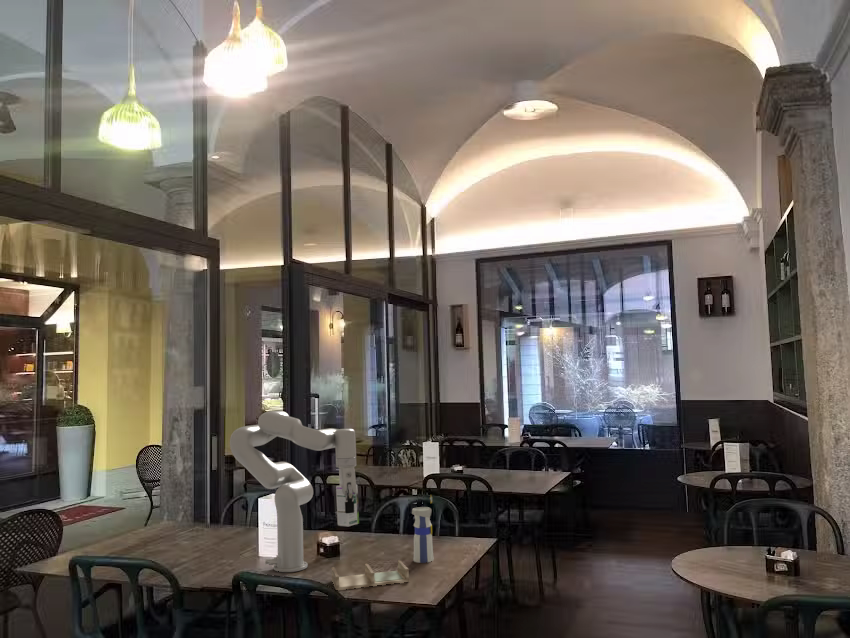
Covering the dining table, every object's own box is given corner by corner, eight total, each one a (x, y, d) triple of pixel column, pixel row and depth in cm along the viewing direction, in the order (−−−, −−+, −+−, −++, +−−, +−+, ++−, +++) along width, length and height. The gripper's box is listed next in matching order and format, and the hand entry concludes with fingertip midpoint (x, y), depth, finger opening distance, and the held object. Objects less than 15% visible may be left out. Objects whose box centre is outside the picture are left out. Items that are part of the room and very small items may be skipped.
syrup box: (348, 526, 243) (347, 486, 244) (336, 525, 247) (335, 485, 248) (359, 523, 248) (358, 483, 249) (347, 522, 251) (346, 482, 252)
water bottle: (434, 556, 264) (432, 491, 266) (435, 562, 256) (433, 495, 258) (413, 557, 264) (411, 492, 266) (413, 563, 255) (411, 496, 257)
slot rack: (336, 590, 225) (336, 576, 225) (331, 580, 236) (331, 567, 237) (408, 582, 231) (408, 568, 232) (400, 573, 243) (400, 560, 243)
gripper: (360, 464, 242) (362, 514, 240) (352, 459, 259) (353, 506, 257) (339, 465, 240) (341, 516, 238) (332, 461, 257) (334, 508, 255)
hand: (347, 510), depth 248 cm, fingers closed on syrup box, 7 cm apart
